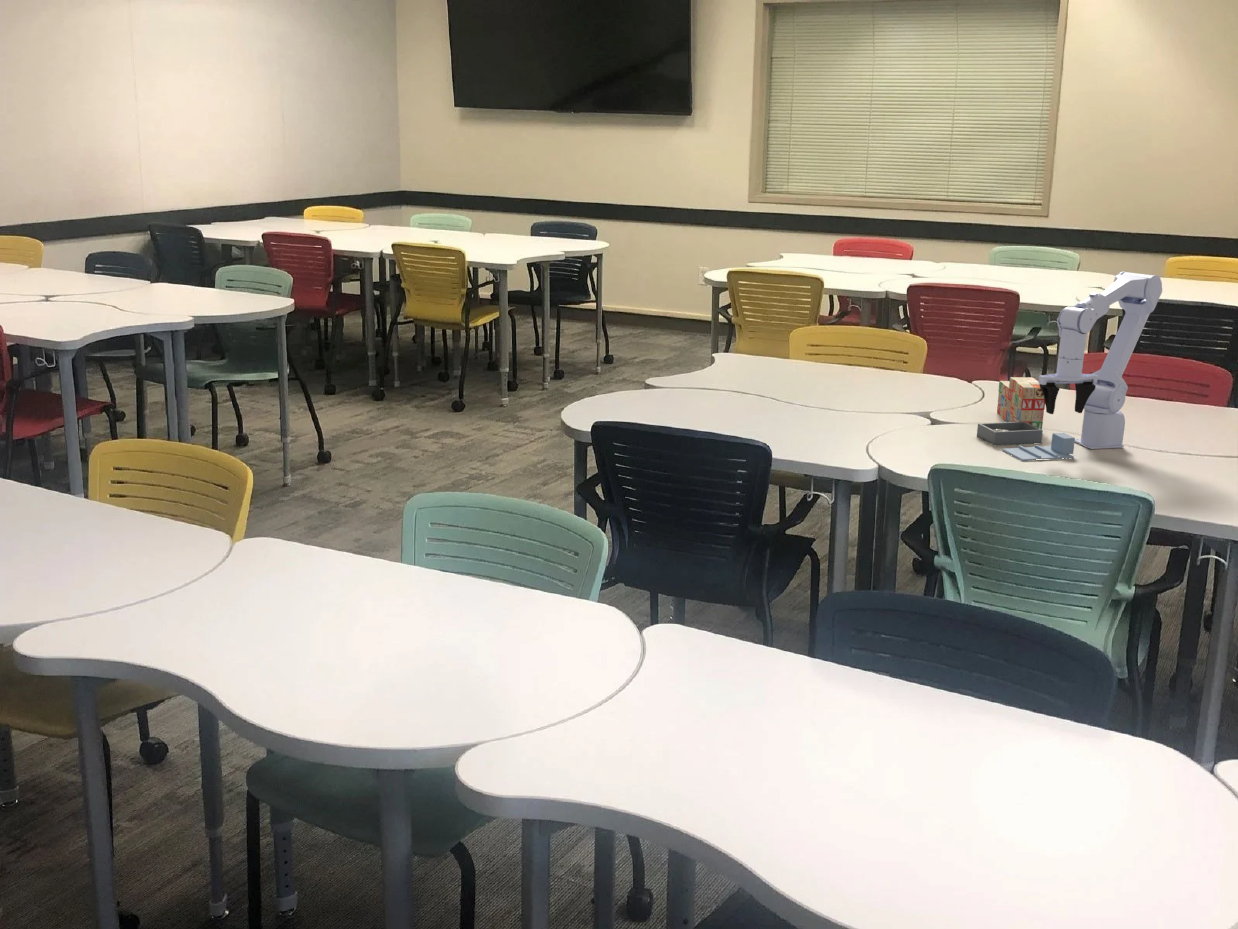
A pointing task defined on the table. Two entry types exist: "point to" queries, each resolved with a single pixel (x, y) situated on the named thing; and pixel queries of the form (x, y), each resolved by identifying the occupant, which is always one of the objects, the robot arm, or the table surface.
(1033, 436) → the tub
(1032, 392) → the stack of blocks
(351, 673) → the table surface
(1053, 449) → the lid
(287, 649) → the table surface
